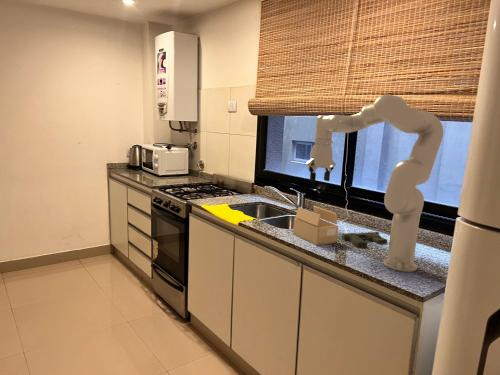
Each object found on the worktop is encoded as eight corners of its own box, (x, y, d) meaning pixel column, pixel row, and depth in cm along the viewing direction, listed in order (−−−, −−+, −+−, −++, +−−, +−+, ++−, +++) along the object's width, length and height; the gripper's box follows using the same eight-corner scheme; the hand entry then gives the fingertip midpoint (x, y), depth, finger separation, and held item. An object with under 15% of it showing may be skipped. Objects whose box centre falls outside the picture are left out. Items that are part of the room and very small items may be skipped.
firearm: (397, 239, 174) (375, 229, 187) (358, 242, 164) (337, 232, 177) (396, 245, 175) (374, 235, 188) (358, 249, 165) (337, 238, 178)
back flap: (336, 224, 169) (337, 224, 170) (335, 213, 168) (336, 213, 168) (314, 216, 184) (314, 215, 184) (313, 206, 182) (314, 205, 182)
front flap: (320, 214, 164) (319, 214, 164) (317, 226, 164) (317, 226, 164) (299, 207, 178) (298, 206, 178) (296, 217, 178) (295, 217, 178)
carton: (337, 243, 170) (339, 225, 168) (317, 245, 164) (318, 227, 163) (311, 231, 186) (313, 215, 185) (292, 233, 181) (293, 217, 179)
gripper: (332, 142, 175) (328, 179, 178) (302, 141, 167) (299, 180, 170) (343, 143, 169) (339, 181, 172) (312, 142, 161) (309, 182, 164)
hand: (319, 180), depth 171 cm, fingers open, 7 cm apart
